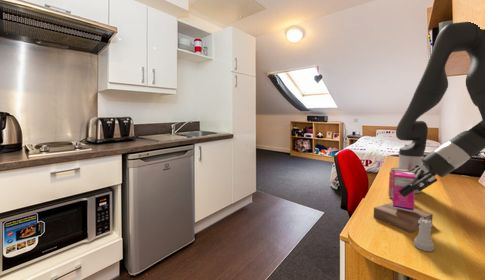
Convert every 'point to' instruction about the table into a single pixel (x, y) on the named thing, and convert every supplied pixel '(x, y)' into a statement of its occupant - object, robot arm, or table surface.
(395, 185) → the supplement box
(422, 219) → the rook chess piece
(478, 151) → the robot arm
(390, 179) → the soda can
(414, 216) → the walnut block
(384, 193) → the table surface
